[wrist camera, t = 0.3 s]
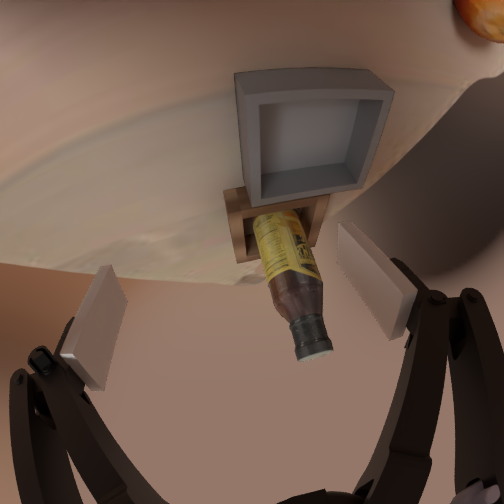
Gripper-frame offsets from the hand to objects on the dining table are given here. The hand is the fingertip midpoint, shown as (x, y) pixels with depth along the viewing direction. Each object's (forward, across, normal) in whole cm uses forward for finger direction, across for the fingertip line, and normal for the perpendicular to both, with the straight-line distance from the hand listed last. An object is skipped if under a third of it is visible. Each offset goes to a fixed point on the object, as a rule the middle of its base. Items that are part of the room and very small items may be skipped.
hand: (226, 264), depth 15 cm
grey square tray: (+15, +9, +6) cm, 18 cm away
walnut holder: (+22, +6, -7) cm, 23 cm away
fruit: (+6, +27, +22) cm, 36 cm away
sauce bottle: (+22, +6, -7) cm, 23 cm away
